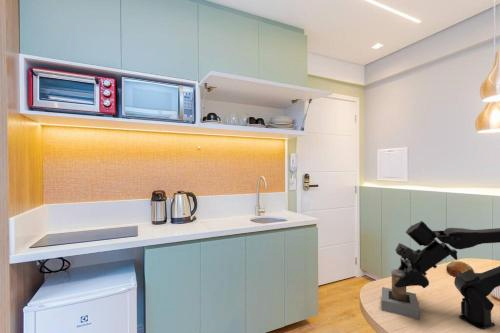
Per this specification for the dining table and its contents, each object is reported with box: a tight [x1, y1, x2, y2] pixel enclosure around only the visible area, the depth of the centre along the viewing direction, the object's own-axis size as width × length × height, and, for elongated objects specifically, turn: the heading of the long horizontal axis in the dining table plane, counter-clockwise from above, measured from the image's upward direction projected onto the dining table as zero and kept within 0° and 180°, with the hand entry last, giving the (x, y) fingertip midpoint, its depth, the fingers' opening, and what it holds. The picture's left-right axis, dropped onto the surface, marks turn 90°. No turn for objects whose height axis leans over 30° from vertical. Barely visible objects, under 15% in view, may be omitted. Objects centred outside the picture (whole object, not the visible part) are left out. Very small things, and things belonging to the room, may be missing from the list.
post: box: [391, 268, 407, 303], centre depth 89 cm, size 5×5×12 cm
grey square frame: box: [381, 286, 420, 320], centre depth 89 cm, size 11×11×4 cm
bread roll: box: [445, 260, 475, 278], centre depth 115 cm, size 10×10×8 cm
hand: (394, 282), depth 90 cm, fingers open, 6 cm apart
